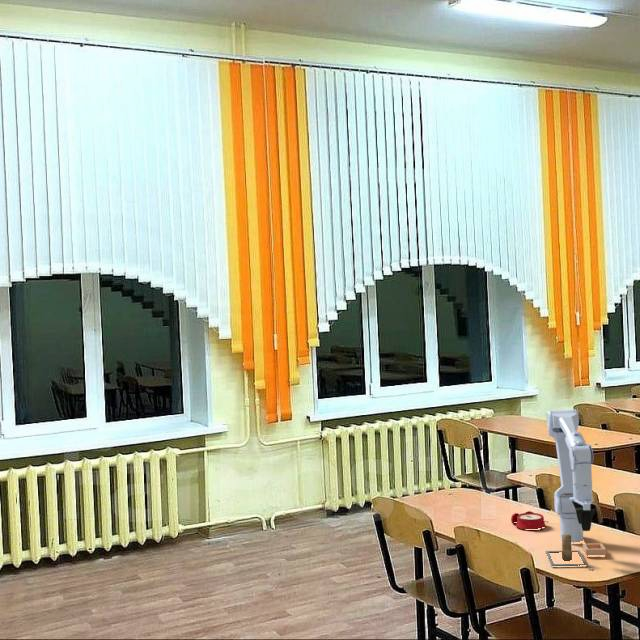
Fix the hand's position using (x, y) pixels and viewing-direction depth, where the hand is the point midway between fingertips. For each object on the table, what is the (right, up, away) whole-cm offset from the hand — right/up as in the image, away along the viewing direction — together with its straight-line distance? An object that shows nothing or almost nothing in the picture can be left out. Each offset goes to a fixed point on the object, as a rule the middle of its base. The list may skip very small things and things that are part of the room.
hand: (584, 527), depth 266 cm
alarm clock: (-8, -10, +39) cm, 41 cm away
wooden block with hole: (+4, -10, +3) cm, 11 cm away
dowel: (-6, -10, -2) cm, 12 cm away
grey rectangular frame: (-6, -11, -1) cm, 12 cm away
